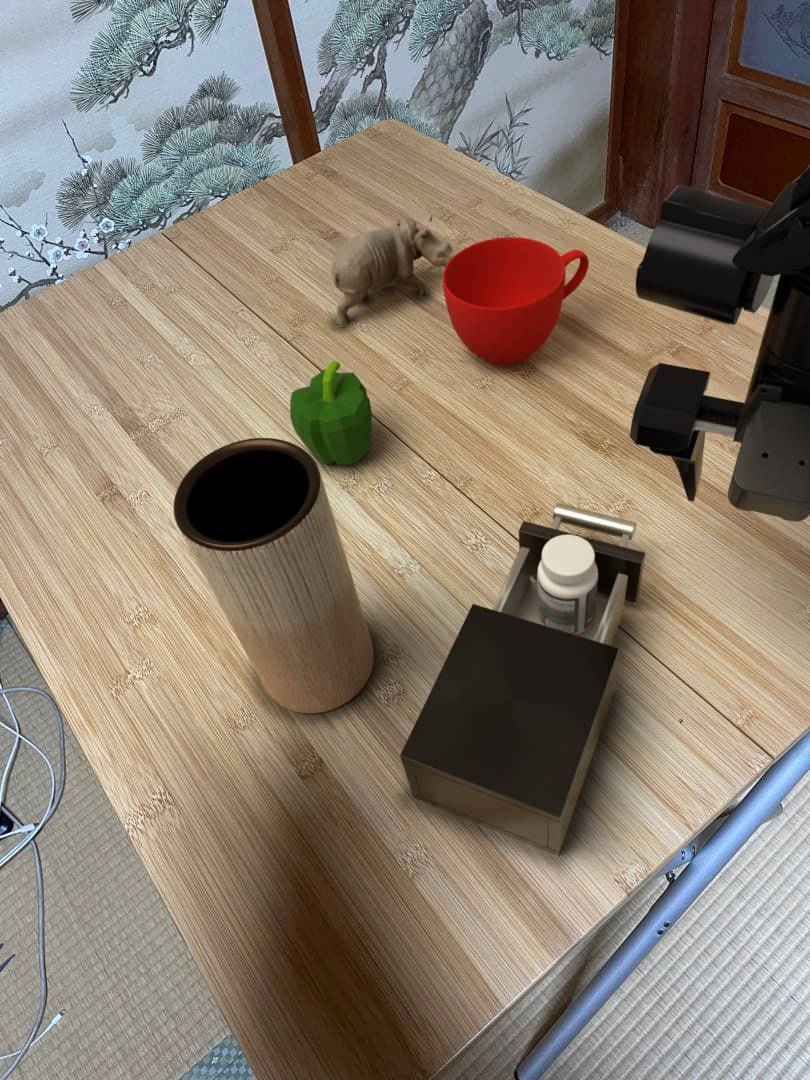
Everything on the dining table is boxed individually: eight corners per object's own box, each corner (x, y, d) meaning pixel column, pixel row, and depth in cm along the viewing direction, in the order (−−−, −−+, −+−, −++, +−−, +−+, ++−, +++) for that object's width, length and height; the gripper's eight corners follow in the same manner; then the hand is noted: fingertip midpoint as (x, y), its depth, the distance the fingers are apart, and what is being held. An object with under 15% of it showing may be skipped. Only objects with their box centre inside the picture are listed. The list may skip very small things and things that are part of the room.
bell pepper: (341, 490, 85) (320, 418, 77) (289, 455, 89) (265, 384, 81) (398, 443, 88) (384, 369, 80) (345, 411, 92) (327, 338, 85)
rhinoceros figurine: (299, 284, 104) (351, 177, 95) (391, 309, 112) (447, 211, 103) (315, 324, 100) (371, 215, 91) (409, 346, 108) (469, 248, 98)
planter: (354, 725, 68) (288, 559, 51) (244, 703, 71) (145, 537, 54) (388, 624, 74) (340, 443, 57) (285, 607, 77) (208, 429, 59)
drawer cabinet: (478, 653, 71) (472, 603, 65) (612, 696, 67) (619, 647, 61) (412, 797, 64) (399, 755, 58) (558, 855, 60) (560, 817, 54)
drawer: (540, 526, 78) (540, 484, 73) (652, 555, 74) (659, 513, 70) (472, 675, 69) (467, 638, 64) (596, 717, 65) (600, 681, 61)
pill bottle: (575, 582, 72) (578, 520, 65) (606, 622, 69) (612, 562, 63) (527, 604, 71) (525, 544, 65) (556, 646, 68) (557, 588, 62)
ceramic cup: (616, 343, 94) (623, 265, 86) (484, 400, 91) (478, 325, 83) (554, 287, 101) (555, 211, 94) (431, 338, 98) (421, 263, 91)
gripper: (618, 400, 47) (599, 563, 59) (997, 475, 41) (888, 640, 53) (665, 284, 53) (638, 454, 65) (1002, 334, 47) (903, 512, 59)
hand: (757, 512), depth 60 cm, fingers open, 9 cm apart
